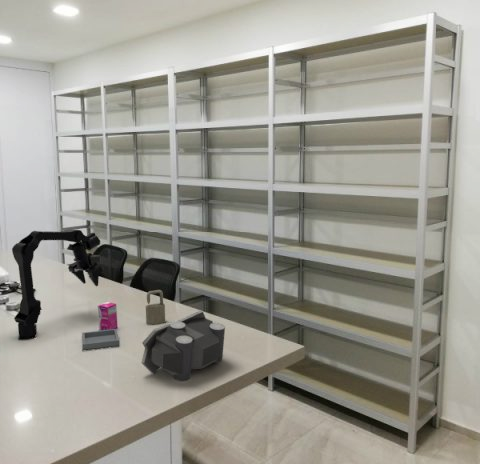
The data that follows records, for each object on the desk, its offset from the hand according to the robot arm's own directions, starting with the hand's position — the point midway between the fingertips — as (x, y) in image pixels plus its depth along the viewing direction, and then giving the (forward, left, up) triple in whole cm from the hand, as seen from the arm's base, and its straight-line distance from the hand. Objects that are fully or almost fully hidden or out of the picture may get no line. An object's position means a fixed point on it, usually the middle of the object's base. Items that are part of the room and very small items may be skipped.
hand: (90, 284), depth 237 cm
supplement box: (+6, -22, -16) cm, 27 cm away
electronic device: (+31, -72, -16) cm, 80 cm away
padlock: (+27, -20, -16) cm, 37 cm away
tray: (+2, -37, -15) cm, 40 cm away
